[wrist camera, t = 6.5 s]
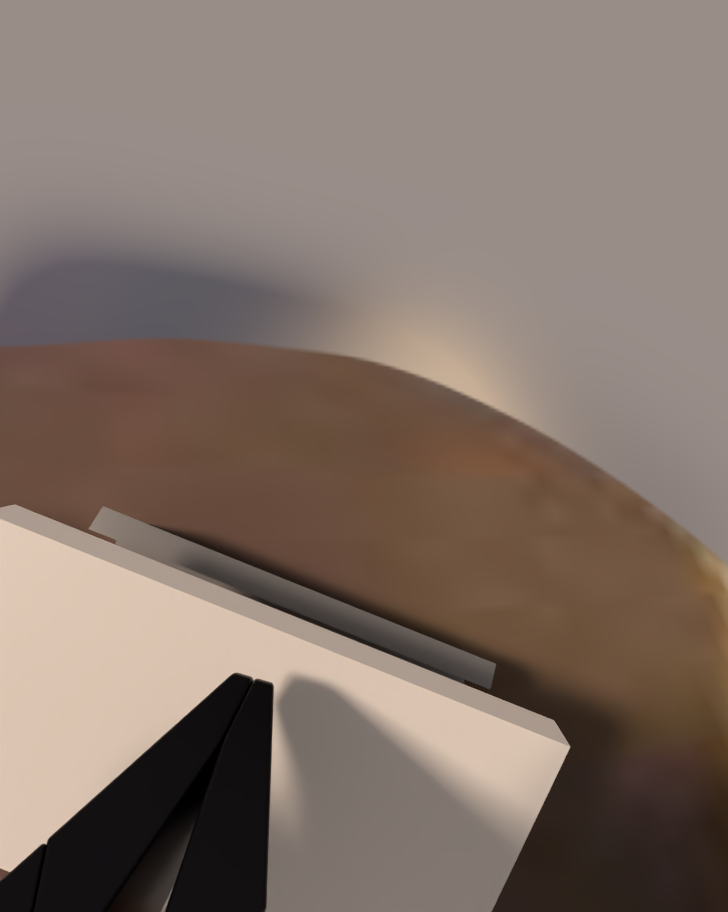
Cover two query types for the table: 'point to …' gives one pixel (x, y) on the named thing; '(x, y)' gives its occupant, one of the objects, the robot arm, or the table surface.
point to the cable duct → (293, 599)
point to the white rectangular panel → (293, 737)
